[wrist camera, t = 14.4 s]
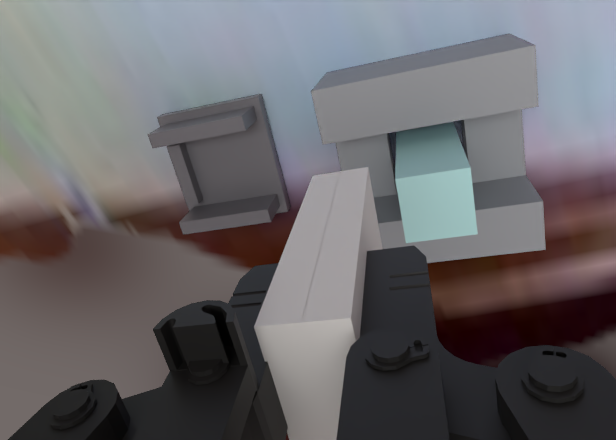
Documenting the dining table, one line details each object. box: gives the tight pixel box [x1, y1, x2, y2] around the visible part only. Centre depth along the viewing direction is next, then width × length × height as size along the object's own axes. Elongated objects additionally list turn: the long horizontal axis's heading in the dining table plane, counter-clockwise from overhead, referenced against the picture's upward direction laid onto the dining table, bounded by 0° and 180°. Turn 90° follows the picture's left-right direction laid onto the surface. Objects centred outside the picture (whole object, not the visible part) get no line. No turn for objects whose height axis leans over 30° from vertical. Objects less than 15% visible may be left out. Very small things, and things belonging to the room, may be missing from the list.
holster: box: [148, 94, 291, 234], centre depth 37 cm, size 8×9×4 cm
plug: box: [395, 122, 478, 243], centre depth 31 cm, size 4×4×12 cm
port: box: [311, 34, 545, 263], centre depth 33 cm, size 12×12×7 cm
